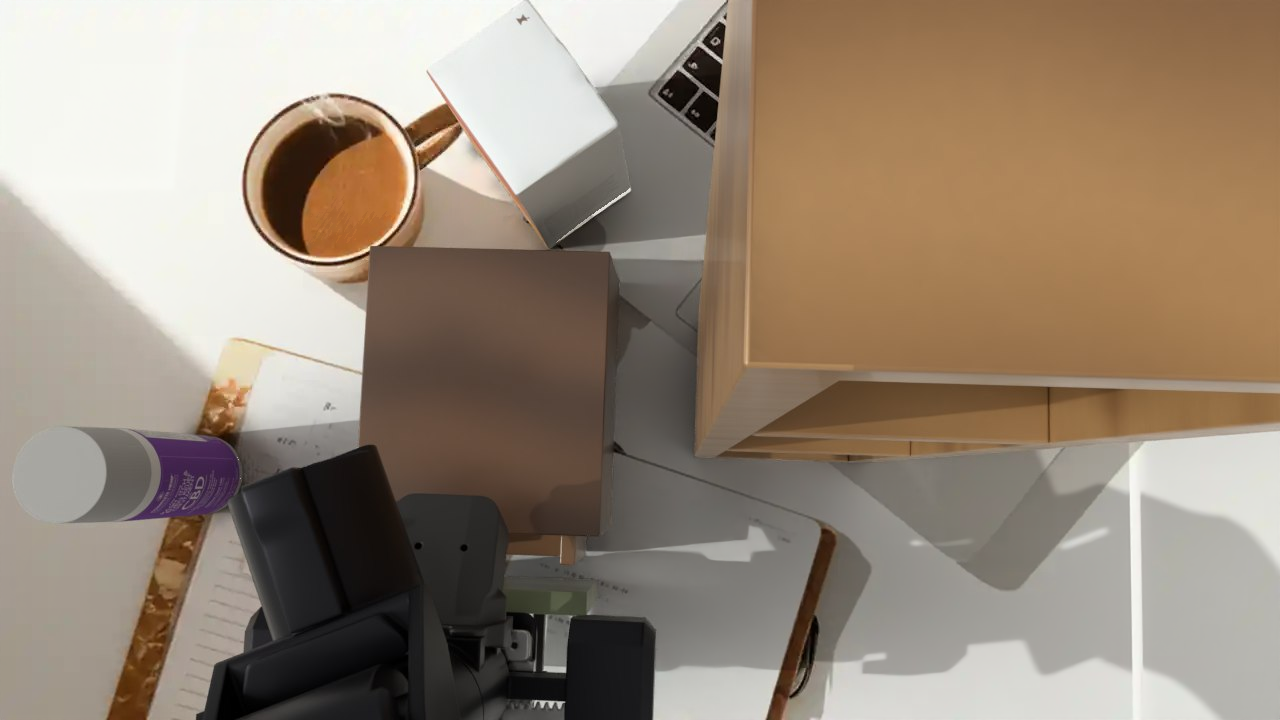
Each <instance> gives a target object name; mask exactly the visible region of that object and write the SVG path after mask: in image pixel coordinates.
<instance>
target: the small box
mask: <svg viewBox="0 0 1280 720" xmlns="http://www.w3.org/2000/svg"><path fill="white" fill-rule="evenodd" d="M426 73H427V76H428V77H429V79H430V80H431V82H432V83H433V85H434V86H435V87H436V89H437V91H438V92H439V94H440V95H441V97H442V98H443V100H444V102H445V103H446V105H447V106H448V108H449V109H450V111H451V113H452V115H453V116H454V117H455V119H456V120H457V122H458V123H459V125H460V126H461V128H462V130H463V131H464V133H465V135H466V137H467V139H468V140H469V142H470V143H471V144H472V146H473V147H474V149H475V150H476V152H477V153H478V154H479V155H480V157H481V159H483V161H484V162H485V163H486V165H487V166H488V168H489V169H490V171H491V172H492V173H493V174H494V176H495V177H496V179H497V180H498V182H499V183H500V184H501V185H502V187H503V188H504V189H505V191H506V192H507V194H508V195H509V196H510V198H511V199H512V201H513V202H514V203H515V205H516V206H517V207H518V209H519V211H520V212H521V213H522V215H523V216H524V217H525V219H526V220H527V221H528V222H529V224H530V226H531V227H532V228H533V230H534V231H535V233H536V234H537V235H538V237H539V238H540V240H541V241H542V243H543V244H544V246H545V247H546V248H547V249H548V250H551V248H554V247H555V246H556V245H557V244H556V242H557V241H558V240H559V239H561V238H562V237H563V236H564V235H566V234H567V233H568V232H569V231H571V230H572V229H574V228H575V227H576V226H577V225H578V224H580V223H581V222H583V221H584V220H585V219H587V218H588V217H589V216H591V215H592V214H594V213H595V212H596V211H598V210H599V209H601V208H602V207H604V206H605V205H607V204H608V203H609V202H611V201H612V200H614V199H615V198H617V197H618V196H619V195H621V194H622V193H624V192H626V191H627V190H628V189H629V188H630V186H631V181H630V177H629V172H628V170H629V169H628V165H627V159H626V154H625V149H624V144H623V139H622V134H621V128H620V123H619V121H618V119H617V118H616V116H615V115H614V114H613V112H612V111H611V109H610V107H608V105H607V104H606V102H605V101H604V99H603V98H602V96H601V95H600V94H599V92H598V91H597V89H596V88H595V87H594V86H593V84H592V82H591V81H590V79H589V78H588V77H587V75H586V74H585V72H584V71H583V70H582V68H581V67H580V65H579V63H578V62H577V61H576V59H575V58H574V56H573V55H572V53H570V51H569V50H568V49H567V46H565V44H563V42H562V41H561V40H560V38H558V36H557V35H556V34H555V32H554V31H553V30H552V29H551V26H549V25H548V23H547V22H546V20H545V19H544V18H543V17H542V15H541V14H540V13H539V12H538V10H537V9H536V8H535V6H534V5H533V4H532V2H531V1H530V0H522V1H521V2H520V3H518V4H517V5H515V6H514V7H513V8H511V9H510V10H509V11H507V12H506V13H504V14H503V15H501V16H500V17H498V18H497V19H495V21H493V22H491V23H489V24H488V25H487V26H485V27H484V28H483V29H481V30H480V31H478V32H477V33H476V34H474V35H473V36H472V37H470V38H469V39H468V40H466V41H464V42H463V43H462V44H461V45H459V46H457V47H456V48H455V49H453V50H452V51H449V53H448V54H445V56H443V57H442V58H440V59H439V60H438V61H436V62H435V63H434V64H432V65H430V66H429V67H428V68H426Z"/></svg>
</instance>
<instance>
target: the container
mask: <svg viewBox="0 0 1280 720" xmlns="http://www.w3.org/2000/svg"><path fill="white" fill-rule="evenodd" d="M237 457H238V458H237ZM238 459H239V460H238ZM14 460H15V461H14V464H13V468H12V477H11V478H12V479H11V480H12V481H11V482H12V487H13V492H14V496H15V498H16V500H17V501H18V503H19V505H20V506H21V508H22V509H23V510H24V511H25V512H26V513H27V514H28V515H30V516H31V517H33V518H34V519H36V520H38V521H40V522H43V523H47V524H54V525H57V524H58V525H60V524H90V523H120V522H123V523H124V522H132V521H133V522H134V521H145V520H157V519H168V518H169V519H170V518H181V517H192V516H193V517H195V516H203V515H204V516H205V515H211V514H214V513H217V512H219V511H221V510H223V509H225V508H226V507H228V503H227V501H228V498H230V497H232V496H234V495H237V494H238V493H239V491H240V489H241V487H242V483H243V477H244V476H243V475H244V472H243V470H244V469H243V465H242V461H241V458H240V456H239V454H238V453H237V450H235V449H234V447H233V446H232V445H231V444H230V443H229V442H227V441H225V440H224V439H222V438H219V437H216V436H213V435H205V434H195V433H194V434H192V433H182V432H171V431H170V432H169V431H158V430H148V429H147V430H146V429H137V428H125V427H124V428H122V427H97V426H72V425H71V426H68V425H67V426H66V425H59V426H53V427H49V428H46V429H44V430H43V429H42V430H41V431H39V432H37V433H35V434H34V435H33V436H32V437H31V438H29V439H28V440H27V441H26V442H25V444H23V446H22V447H21V449H20V450H19V452H18V453H17V455H16V458H15V459H14ZM240 478H241V479H240Z"/></svg>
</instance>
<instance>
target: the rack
mask: <svg viewBox="0 0 1280 720" xmlns="http://www.w3.org/2000/svg"><path fill="white" fill-rule="evenodd" d="M725 19H726V21H725V31H724V42H723V50H722V51H723V52H722V61H721V71H720V72H721V74H720V83H719V93H718V106H717V116H716V126H715V134H714V135H715V136H714V145H713V146H714V147H713V157H712V168H711V177H710V188H709V189H710V190H709V200H708V210H707V220H706V221H707V222H706V229H705V230H706V232H705V242H704V253H703V263H702V274H701V282H700V283H701V284H700V297H699V305H698V306H699V307H698V316H697V333H696V334H698V336H697V335H696V336H697V338H696V339H697V340H696V369H695V370H696V373H695V375H696V376H695V404H694V405H695V411H694V414H695V415H694V443H693V444H694V445H693V457H694V458H705V459H706V458H707V459H714V458H715V459H733V460H734V459H739V460H765V461H767V460H768V461H769V460H770V461H796V462H797V461H798V462H799V461H800V462H824V463H825V462H826V463H827V462H829V463H857V464H858V463H859V464H870V463H882V462H894V461H906V460H909V461H910V460H919V459H921V460H922V459H932V458H935V459H936V458H946V457H958V456H961V457H962V456H973V455H985V454H986V455H987V454H999V453H1013V452H1023V451H1024V452H1025V451H1026V452H1027V451H1038V450H1051V449H1062V448H1063V449H1065V448H1075V447H1076V448H1078V447H1091V446H1102V445H1103V446H1104V445H1115V444H1129V443H1141V442H1142V443H1143V442H1155V441H1156V442H1157V441H1169V440H1183V439H1194V438H1195V439H1196V438H1209V437H1221V436H1233V435H1246V434H1259V433H1272V432H1273V433H1274V432H1280V0H727V10H726V18H725Z"/></svg>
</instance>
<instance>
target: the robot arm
mask: <svg viewBox="0 0 1280 720" xmlns="http://www.w3.org/2000/svg"><path fill="white" fill-rule="evenodd" d="M227 503H228V505H227V507H228V509H229V512H230V516H231V518H232V519H231V520H232V522H233V524H234V527H235V530H236V534H237V536H238V539H239V543H240V546H241V548H242V551H243V554H244V558H245V560H246V564H247V567H248V569H249V572H250V575H251V578H252V581H253V585H254V588H255V590H256V593H257V597H258V599H259V602H260V605H261V606H260V607H259V608H258V609H257V610H256V611H255V612H254V613H253V614H252V615H251V616H250V618H249V621H248V623H247V625H246V627H245V630H244V638H243V652H241V653H239V654H236V655H233V656H231V657H229V658H226V659H223V660H221V661H218V662H216V663H215V664H214V665H213V669H212V673H211V678H210V681H209V687H208V692H207V697H206V700H205V704H204V705H205V707H204V709H203V711H201V712H197V713H196V714H195V720H654V718H655V717H654V716H655V714H654V713H655V686H656V685H655V684H656V683H655V682H656V658H657V657H656V656H657V628H656V627H655V626H654V625H653V624H652V623H651V622H650V621H649V620H648V618H647V617H646V616H632V615H631V616H630V615H610V614H609V615H608V614H607V615H604V614H587V615H580V616H571V617H570V619H569V626H568V633H567V642H566V665H565V666H566V667H565V672H559V671H558V672H557V671H555V672H554V671H547V672H536V656H537V625H536V621H535V619H534V618H533V615H532V614H528V613H524V612H506V605H507V597H506V595H505V594H504V593H503V585H504V576H506V564H507V556H508V555H507V549H508V544H509V532H508V528H507V526H506V524H505V522H504V520H503V517H502V515H501V513H500V511H499V509H498V506H497V505H496V503H495V502H494V501H493V500H491V499H490V498H488V497H484V496H477V495H451V494H424V493H413V494H409V495H406V496H404V497H402V498H401V499H400V500H399V501H396V500H395V497H394V495H393V492H392V489H391V486H390V483H389V480H388V478H387V475H386V472H385V469H384V466H383V463H382V461H381V458H380V455H379V452H378V449H377V446H375V445H365V446H362V447H359V448H358V447H357V448H354V449H351V450H349V451H346V452H344V453H340V454H338V455H335V456H333V457H331V458H327V459H324V460H320V461H317V462H314V463H311V464H307V465H305V466H302V467H294V466H293V467H289V468H286V469H284V470H281V471H279V472H276V473H274V474H270V475H268V476H266V477H263V478H260V479H257V480H254V481H253V482H249V483H248V484H245V485H243V486H242V485H241V491H240V492H238V493H237V495H234V496H232V497H230V498H228V501H227ZM535 701H536V702H535ZM542 701H543V702H544V705H543V707H542V705H541V702H542ZM549 702H553V704H552V706H551V707H550V703H549ZM558 702H561V706H560V708H559V705H558Z"/></svg>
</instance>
